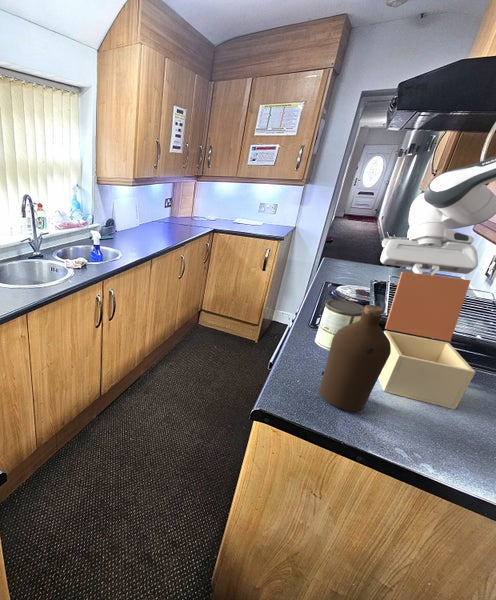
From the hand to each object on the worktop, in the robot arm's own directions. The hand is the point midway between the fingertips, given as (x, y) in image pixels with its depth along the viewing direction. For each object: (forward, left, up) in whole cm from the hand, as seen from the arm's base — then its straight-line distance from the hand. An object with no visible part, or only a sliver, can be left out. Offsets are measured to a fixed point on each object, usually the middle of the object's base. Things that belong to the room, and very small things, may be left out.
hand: (424, 280), depth 92 cm
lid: (0, +7, -5) cm, 9 cm away
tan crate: (0, +17, -25) cm, 30 cm away
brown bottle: (+17, +34, -25) cm, 45 cm away
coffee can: (+16, +3, -25) cm, 30 cm away
